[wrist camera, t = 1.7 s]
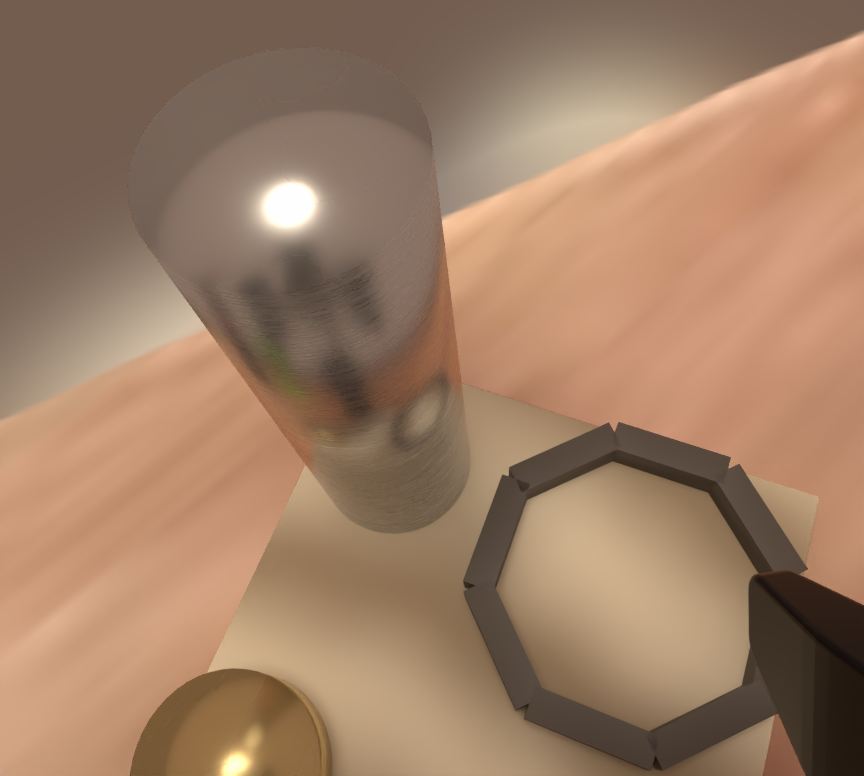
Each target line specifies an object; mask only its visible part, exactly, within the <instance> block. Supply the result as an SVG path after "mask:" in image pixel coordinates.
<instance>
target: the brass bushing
mask: <svg viewBox="0 0 864 776" xmlns="http://www.w3.org/2000/svg"><path fill="white" fill-rule="evenodd" d="M331 775H332V751H331V745H330V739H329V736H328V732H327V729H326V726H325V724H324V721H323V719H322V717H321V715H320V713H319V712H318V710H317V708H316V707H315V706H314V704H313V703H312V702H311V700H310V699H309V698H308V697H307V696H306V695H305V694H304V693H303V692H302V691H301V690H299V689H298V688H297V687H295V686H294V685H293V684H291V683H289V682H287V681H285V680H283V679H281V678H278V677H275V676H272V675H269V674H265V673H261V672H258V671H253V670H248V669H237V668H231V669H221V670H217V671H213V672H209V673H206V674H203V675H201V676H198V677H196V678H194V679H192V680H191V681H189V682H187V683H185V684H184V685H183V686H181V687H180V688H178V689H177V690H176V691H174V692H173V693H172V694H171V695H170V696H169V697H168V698H167V699H166V700H165V701H164V702H163V703H162V704H161V705H160V706H159V708H158V709H157V710H156V711H155V713H154V714H153V716H152V717H151V718H150V720H149V722H148V723H147V725H146V727H145V729H144V731H143V732H142V735H141V737H140V739H139V742H138V744H137V747H136V750H135V754H134V757H133V761H132V767H131V772H130V776H331Z"/></svg>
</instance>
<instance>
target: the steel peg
mask: <svg viewBox="0 0 864 776" xmlns="http://www.w3.org/2000/svg"><path fill="white" fill-rule="evenodd" d="M127 188H128V203H129V207H130V211H131V216H132V219H133V221H134V224H135V226H136V229H137V231H138V233H139V234H140V236H141V238H142V239H143V241H144V242H145V244H146V245H147V247H148V248H149V249H150V251H151V252H152V254H153V255H154V256H155V258H156V259H157V260H158V262H159V263H160V265H161V266H162V267H163V269H164V270H165V271H166V273H167V274H168V276H169V277H170V278H171V280H172V281H173V283H174V284H175V285H176V287H177V288H178V289H179V291H180V292H181V293H182V295H183V296H184V298H185V299H186V300H187V302H188V303H189V305H190V306H191V307H192V309H193V310H194V311H195V313H196V314H197V315H198V317H199V318H200V320H201V321H202V322H203V324H204V325H205V327H206V328H207V329H208V331H209V332H210V334H211V335H212V336H213V338H214V339H215V340H216V342H217V343H218V345H219V346H220V347H221V349H222V350H223V351H224V353H225V354H226V356H227V357H228V358H229V360H230V361H231V362H232V364H233V365H234V367H235V368H236V369H237V371H238V372H239V373H240V375H241V376H242V378H243V379H244V380H245V382H246V383H247V384H248V386H249V387H250V389H251V390H252V391H253V393H254V394H255V396H256V397H257V398H258V400H259V401H260V402H261V404H262V405H263V407H264V408H265V409H266V411H267V412H268V413H269V415H270V416H271V418H272V419H273V420H274V422H275V423H276V424H277V426H278V427H279V429H280V430H281V431H282V433H283V434H284V435H285V437H286V438H287V440H288V441H289V442H290V444H291V445H292V447H293V448H294V449H295V451H296V452H297V453H298V455H299V456H300V458H301V459H302V460H303V462H304V463H305V464H306V466H307V467H308V469H309V470H310V471H311V473H312V474H313V475H314V477H315V478H316V480H317V481H318V482H319V484H320V485H321V486H322V488H323V489H324V491H325V492H326V493H327V495H328V496H329V498H330V499H331V500H332V502H333V503H334V504H335V506H336V507H337V508H338V509H339V510H340V512H341V513H342V514H343V515H345V516H346V517H347V518H348V519H349V520H351V521H352V522H354V523H355V524H357V525H359V526H361V527H363V528H365V529H368V530H372V531H375V532H380V533H390V534H397V533H406V532H411V531H415V530H418V529H420V528H423V527H426V526H427V525H429V524H431V523H433V522H435V521H436V520H438V519H439V518H440V517H442V516H443V515H444V514H445V513H446V512H447V511H449V510H450V509H451V507H452V506H453V505H454V504H455V503H456V501H457V500H458V498H459V497H460V495H461V493H462V491H463V489H464V487H465V485H466V482H467V479H468V475H469V469H470V449H469V441H468V433H467V424H466V416H465V408H464V400H463V392H462V383H461V375H460V367H459V359H458V350H457V342H456V334H455V326H454V318H453V309H452V301H451V293H450V285H449V276H448V268H447V260H446V252H445V243H444V235H443V227H442V219H441V212H440V202H439V194H438V186H437V178H436V170H435V162H434V153H433V145H432V137H431V131H430V128H429V124H428V120H427V117H426V115H425V113H424V111H423V109H422V107H421V105H420V103H419V102H418V100H417V99H416V97H415V96H414V94H413V93H412V92H411V91H410V90H409V89H408V87H407V86H406V85H405V84H404V83H403V82H402V81H401V80H400V79H398V78H397V77H396V76H394V75H393V74H392V73H391V72H389V71H388V70H386V69H385V68H383V67H381V66H379V65H378V64H376V63H374V62H372V61H369V60H367V59H365V58H362V57H359V56H357V55H353V54H349V53H346V52H343V51H337V50H331V49H326V48H311V47H301V48H300V47H297V48H283V49H276V50H269V51H264V52H260V53H256V54H251V55H248V56H245V57H242V58H239V59H236V60H233V61H231V62H229V63H226V64H224V65H222V66H219V67H217V68H215V69H213V70H211V71H210V72H208V73H206V74H205V75H202V76H201V77H199V78H198V79H196V80H195V81H193V82H192V83H190V84H189V85H187V86H186V87H185V88H183V89H182V90H181V91H180V92H179V93H177V94H176V95H175V96H174V97H173V98H172V99H170V100H169V102H168V103H167V104H166V105H165V106H164V107H163V108H162V109H161V110H160V111H159V112H158V113H157V115H156V116H155V117H154V119H153V120H152V121H151V122H150V124H149V125H148V127H147V128H146V130H145V132H144V133H143V135H142V137H141V139H140V140H139V143H138V145H137V148H136V150H135V152H134V155H133V158H132V162H131V166H130V169H129V177H128V186H127Z"/></svg>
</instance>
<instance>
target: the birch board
mask: <svg viewBox="0 0 864 776" xmlns="http://www.w3.org/2000/svg"><path fill="white" fill-rule="evenodd" d="M462 392H463V400H464V408H465V416H466V424H467V433H468V441H469V449H470V469H469V475H468V479H467V482H466V485H465V487H464V489H463V491H462V493H461V495H460V497H459V498H458V500H457V501H456V503H455V504H454V505H453V506H452V507H451V509H450V510H449V511H447V512H446V513H445V514H444V515H443V516H442V517H440V518H439V519H438V520H436V521H435V522H433V523H431V524H429V525H427V526H426V527H423V528H420V529H418V530H415V531H411V532H406V533H397V534H390V533H380V532H375V531H372V530H368V529H365V528H363V527H361V526H359V525H357V524H355V523H354V522H352V521H351V520H349V519H348V518H347V517H346V516H345V515H343V514H342V513H341V512H340V510H339V509H338V508H337V507H336V506H335V504H334V503H333V502H332V500H331V499H330V498H329V496H328V495H327V493H326V492H325V491H324V489H323V488H322V486H321V485H320V484H319V482H318V481H317V480H316V478H315V477H314V475H313V474H312V473H311V471H310V470H309V469H308V467H307V466H306V465H305V467H304V469H303V471H302V473H301V476H300V478H299V480H298V482H297V484H296V486H295V488H294V490H293V492H292V495H291V497H290V499H289V501H288V503H287V505H286V507H285V509H284V511H283V514H282V516H281V518H280V520H279V522H278V524H277V526H276V528H275V530H274V533H273V535H272V537H271V539H270V541H269V543H268V545H267V547H266V549H265V552H264V554H263V556H262V558H261V560H260V562H259V564H258V566H257V568H256V571H255V573H254V575H253V577H252V579H251V581H250V583H249V585H248V587H247V590H246V592H245V594H244V596H243V598H242V600H241V602H240V604H239V606H238V609H237V611H236V613H235V615H234V617H233V619H232V621H231V623H230V625H229V627H228V630H227V632H226V634H225V636H224V638H223V640H222V642H221V644H220V646H219V649H218V651H217V653H216V655H215V657H214V659H213V661H212V663H211V665H210V668H209V670H208V672H207V673H209V672H213V671H217V670H221V669H231V668H237V669H248V670H253V671H258V672H261V673H265V674H269V675H272V676H275V677H278V678H281V679H283V680H285V681H287V682H289V683H291V684H293V685H294V686H295V687H297V688H298V689H299V690H301V691H302V692H303V693H304V694H305V695H306V696H307V697H308V698H309V699H310V700H311V702H312V703H313V704H314V706H315V707H316V708H317V710H318V712H319V713H320V715H321V717H322V719H323V721H324V724H325V726H326V729H327V732H328V736H329V739H330V745H331V751H332V775H331V776H763V772H764V767H765V762H766V757H767V752H768V747H769V742H770V737H771V732H772V727H773V722H774V718H775V715H776V714H778V712H777V710H776V707H775V705H774V703H773V700H772V698H771V696H770V694H769V691H768V689H767V687H766V685H765V682H764V680H763V678H762V675H761V673H760V671H759V669H758V666H757V664H756V662H755V659H754V657H753V654H752V651H751V647H750V642H749V617H748V585H749V581H750V578H751V577H752V576H753V575H754V574H758V573H765V572H772V571H779V570H790V571H792V572H795V573H797V574H799V575H801V576H803V575H804V571H806V570H807V569H808V568H807V567H806V560H807V555H808V550H809V545H810V540H811V535H812V530H813V525H814V520H815V516H816V511H817V506H818V501H819V497H818V496H814V495H811V494H808V493H805V492H802V491H799V490H796V489H793V488H789V487H786V486H783V485H780V484H777V483H774V482H771V481H768V480H764V479H761V478H758V477H755V476H752V475H749V474H746V473H745V472H744V470H743V469H742V467H741V466H740V464H738V465H736V466H734V467H732V468H728V466H729V462H730V458H731V457H728V456H725V455H721V454H718V453H715V452H712V451H709V450H706V449H702V448H699V447H696V446H693V445H690V444H687V443H683V442H680V441H677V440H674V439H671V438H668V437H664V436H661V435H658V434H655V433H652V432H649V431H645V430H642V429H639V428H636V427H633V426H630V425H626V424H623V423H620V422H618V425H617V428H616V431H615V432H614V431H613V429H612V427H611V425H610V424H609V423H607V424H604V425H602V426H600V427H598V426H595V425H592V424H589V423H586V422H583V421H580V420H576V419H573V418H570V417H567V416H564V415H561V414H558V413H555V412H551V411H548V410H545V409H542V408H539V407H536V406H533V405H530V404H526V403H523V402H520V401H517V400H514V399H511V398H508V397H504V396H501V395H498V394H495V393H492V392H489V391H486V390H483V389H479V388H476V387H473V386H470V385H467V384H464V383H462Z"/></svg>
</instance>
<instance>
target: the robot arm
mask: <svg viewBox="0 0 864 776" xmlns="http://www.w3.org/2000/svg"><path fill="white" fill-rule="evenodd" d="M748 617H749V642H750V647H751V651H752V654H753V657H754V659H755V662H756V664H757V666H758V669H759V671H760V673H761V675H762V678H763V680H764V682H765V685H766V687H767V689H768V691H769V694H770V696H771V698H772V700H773V703H774V705H775V707H776V710H777V712H778V714H779V716H780V719H781V721H782V723H783V725H784V728H785V730H786V732H787V735H788V737H789V739H790V741H791V744H792V746H793V748H794V750H795V753H796V755H797V757H798V759H799V762H800V764H801V766H802V768H803V771H804V773H805V775H806V776H864V605H862V604H860V603H858V602H856V601H854V600H852V599H850V598H848V597H845V596H843V595H841V594H839V593H837V592H835V591H833V590H831V589H829V588H827V587H824V586H822V585H820V584H818V583H816V582H814V581H812V580H810V579H808V578H806V577H803V576H801V575H799V574H797V573H795V572H792V571H790V570H779V571H772V572H765V573H758V574H754V575H753V576H752V577H751V578H750V581H749V585H748Z"/></svg>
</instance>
